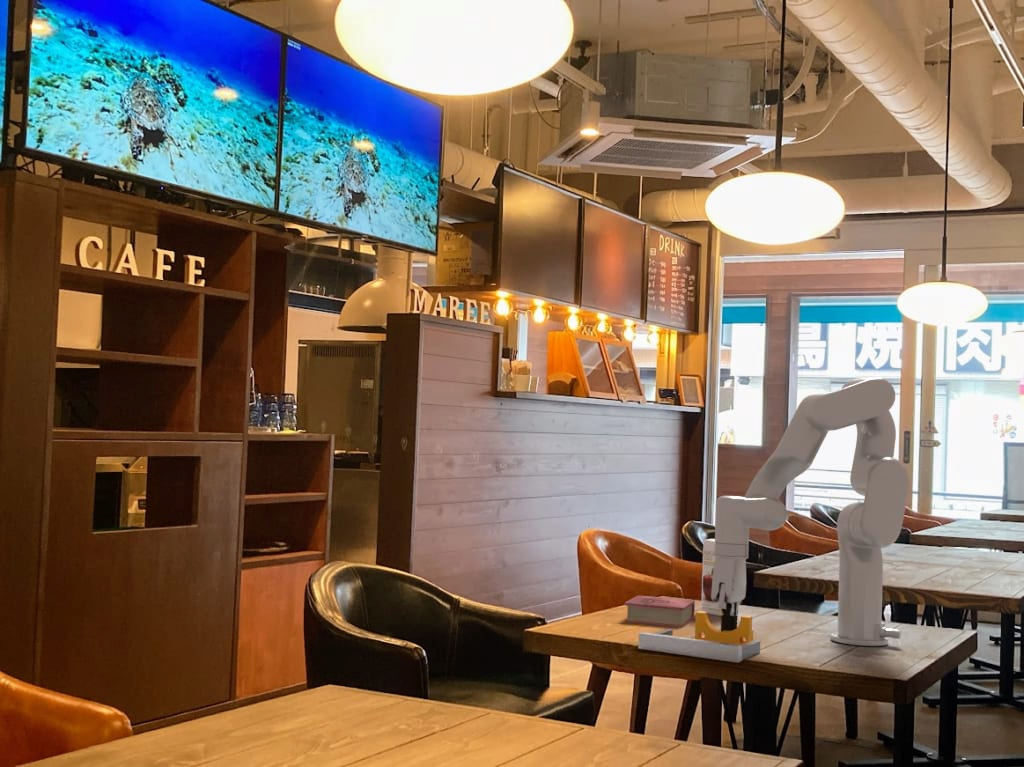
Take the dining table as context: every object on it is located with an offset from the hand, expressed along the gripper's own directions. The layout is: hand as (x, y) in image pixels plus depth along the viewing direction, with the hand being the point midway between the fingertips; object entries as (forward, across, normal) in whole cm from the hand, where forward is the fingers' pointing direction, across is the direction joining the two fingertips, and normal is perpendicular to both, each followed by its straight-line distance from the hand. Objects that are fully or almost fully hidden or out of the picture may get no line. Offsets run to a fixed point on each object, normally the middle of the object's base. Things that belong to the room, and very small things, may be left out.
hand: (728, 632), depth 258 cm
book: (+2, -15, -24) cm, 28 cm away
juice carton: (+2, -36, -16) cm, 39 cm away
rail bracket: (+1, +18, 0) cm, 18 cm away
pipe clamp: (+2, +4, 0) cm, 4 cm away
